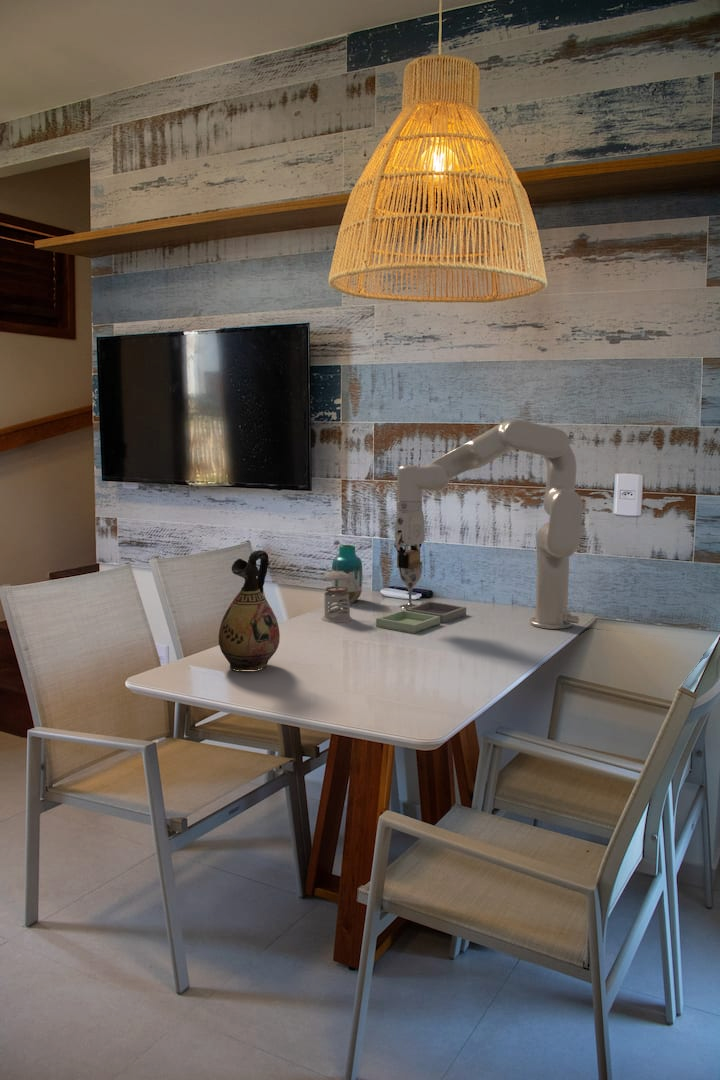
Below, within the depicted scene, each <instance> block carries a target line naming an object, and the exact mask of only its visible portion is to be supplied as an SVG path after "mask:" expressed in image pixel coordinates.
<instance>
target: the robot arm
mask: <svg viewBox="0 0 720 1080" xmlns="http://www.w3.org/2000/svg"><path fill="white" fill-rule="evenodd" d="M514 449H515V450H518V451H521V452H525V453H530V454H534V455H539V456H542V457H543V458H544V461H545V464H546V471H547V472H546V484H545V489H544V490H545V491H544V496H543V510H544V511H545V513H546V514H547V515H549V522H546V523H544V524H543V525H541V526H540V528H539V529H538V530H537V534H536V538H535V539H536V541H535V543H536V562H537V563H536V587H535V588H536V589H535V613H534V614H535V616H533V617H531V618H530V619H529V623H530V625H532V626H533V627H537V628H542V629H547V630H548V629H549V630H562V629H568V628H571V627H572V625H573V624H576V625H577V624H579V623H580V617H579V616H578V615H572V614H571V610H569V609H568V602H569V601H568V599H569V581H570V580H569V578H570V577H569V576H570V557H571V556H573V554H575V552H576V551H577V549H578V547H579V543H580V540H581V539H580V538H581V529H582V523H583V516H584V515H583V514H584V505H583V500H582V498H581V496H580V494H578V493H577V492H576V491H575V490H576V481H577V461H576V457H575V454H574V452H573V451H574V450H573V449H572V447H571V446H570V437H569V435H568V434H567V433H566V432H565V431H563V430H562V429H559V428H555V427H552V426H551V427H550V426H547V425H541V424H537V423H534V422H530V421H526V420H522V419H513V418H511V419H507V420H504V421H503V422H500V423H498V425H496V426H494V427H492V428H490V429H488V430H487V431H485V432H483V433H482V434H480V435H478V436H477V437H474V438H473V439H471V440H469V441H467V442H466V443H464V444H461V445H460V446H458V447H457V448H455V449H453V450H451V451H449V452H448V453H445V454H444V455H442V456H440V457H438V458H436V459H435V460H433V461H432V462H429V463H428V464H427V465H425V466H419V465H414V464H413V465H412V464H411V465H410V464H406V465H405V464H404V465H400V466H399V467H398V469H397V479H396V480H397V488H396V489H397V493H396V495H397V498H396V500H397V501H396V516H395V517H396V518H395V527H394V543H393V547H394V549H396V553H397V552H398V555H399V568H406V569H407V568H408V555H407V552H408V549H409V548H410V549H409V550H417V551H420V552H421V547H422V545H423V543H424V542H425V541H426V530H425V529H426V527H425V516H424V511H423V490H426V491H434V492H435V491H436V492H438V491H442V490H444V489H445V488H447V486H448V485H449V483H450V480H452V479H453V478H455V477H457V476H458V475H461V474H463V473H465V472H468V471H473V470H476V469H479V468H483V467H485V466H487V465H488V464H490V463H491V462H493V461H495V460H496V459H498V458H500V457H501V456H504V455H505V454H508V453H509V452H511V451H513V450H514ZM399 568H398V569H399Z"/></svg>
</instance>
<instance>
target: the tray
mask: <svg viewBox="0 0 720 1080" xmlns="http://www.w3.org/2000/svg"><path fill="white" fill-rule="evenodd" d="M375 625H376V626H375V627H376V628H381V629H387V630H393V631H398V632H404V633H409V634H413V635H414V634H417V633H418V634H419V633H420V632H423V631H426V630H428V629H431V628H434V627H437V626H440V625H441V623H440V617H439V616H434V615H428V614H422V613H416V612H410V611H406V610H403V609H402V610H399V611H395V612H393V613H389V614H386V615H383V616H380V617H377V618H376V619H375Z"/></svg>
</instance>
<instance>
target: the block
mask: <svg viewBox="0 0 720 1080" xmlns="http://www.w3.org/2000/svg"><path fill="white" fill-rule="evenodd" d="M396 554H397V555H396V568H398V569H399V555H398V552H397V551H396ZM407 555H408V568H407V569H415V568H419V567H420V561H421V550H420V551H417V550H410V549H409V548H408V552H407ZM403 569H406V568H403Z"/></svg>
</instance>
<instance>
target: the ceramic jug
mask: <svg viewBox="0 0 720 1080" xmlns="http://www.w3.org/2000/svg"><path fill="white" fill-rule="evenodd" d="M259 559H260V564H259V568H258V567H257V561H258V560H259ZM269 561H270V559H269V554H268V552H266V551H264V550H263V549H260V550H254V551H253V552H251V553H250V555H249V556H248V561H246V560H244V559H242V558H237V559H236V560H235V561H234V562H233V564H232V566H231V571H232V572H231V573H233V574H234V575H236V576H238V577H240V578H243V579H244V583H243V586H242V587H241V589H240V590H239V592H238V593H237V594H236V596H235V597H234V598H233V600H232V602H231V603H230V605H229V607H228V609H227V610H226V611H225V614H224V616H223V617H222V619H221V623H220V627H219V631H218V645H219V649H220V652H221V653H222V654H223V656H224V657H225V659H226V661H227V662H228V663H229V666H230V667H231V668H232V669H235V670H258V669H261V668H264V667H265V666H266V667H267V665H268V663H269V660H270V659H271V658H272V657H273V656H274V654H275V653H276V652H277V650H278V648H279V644H280V641H281V640H280V639H281V636H280V635H281V634H280V627H279V623H278V619H277V617H276V614H275V612H274V610H273V608H272V607H271V605H270V604H269V602H268V600H267V598H266V597H265V596H264V594H263V593H264V585H265V579H266V576H267V572H268V569H269V563H270V562H269ZM230 667H229V668H230ZM266 667H265V668H266ZM231 668H230V669H231ZM265 668H264V669H265ZM232 669H231V670H232Z"/></svg>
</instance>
